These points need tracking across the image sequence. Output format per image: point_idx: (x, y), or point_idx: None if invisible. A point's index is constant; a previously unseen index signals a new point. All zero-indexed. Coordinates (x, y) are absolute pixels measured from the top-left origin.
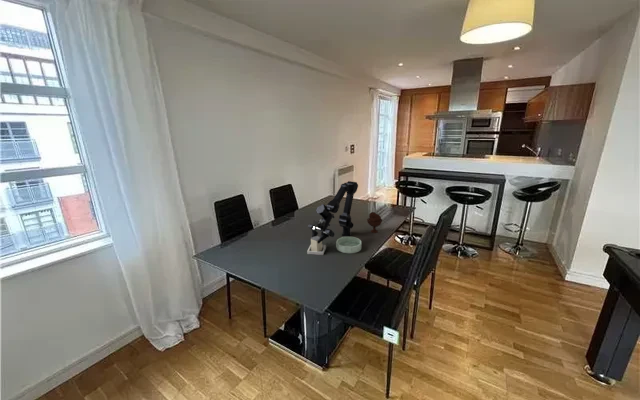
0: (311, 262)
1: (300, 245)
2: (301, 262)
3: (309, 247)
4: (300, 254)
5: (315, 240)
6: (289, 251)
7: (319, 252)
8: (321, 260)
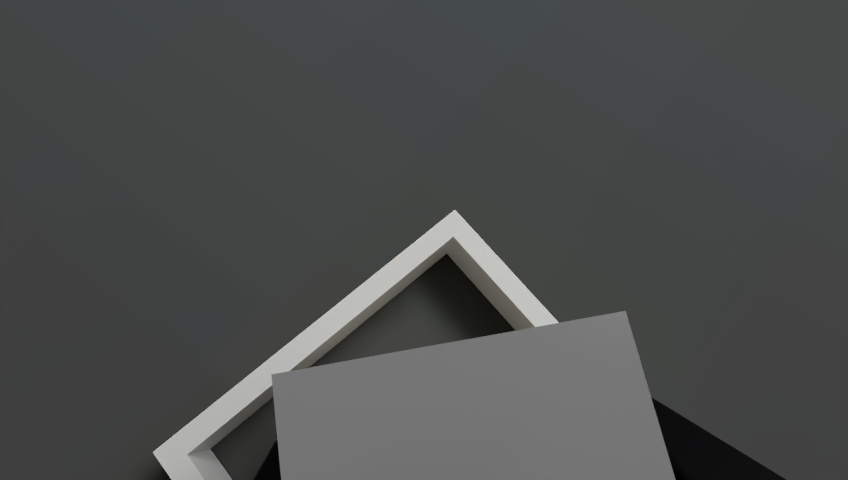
0: (148, 103)
1: (844, 344)
2: (275, 4)
3: None
4: (510, 135)
5: (349, 364)
6: (715, 72)
7: (233, 388)
8: (49, 269)
